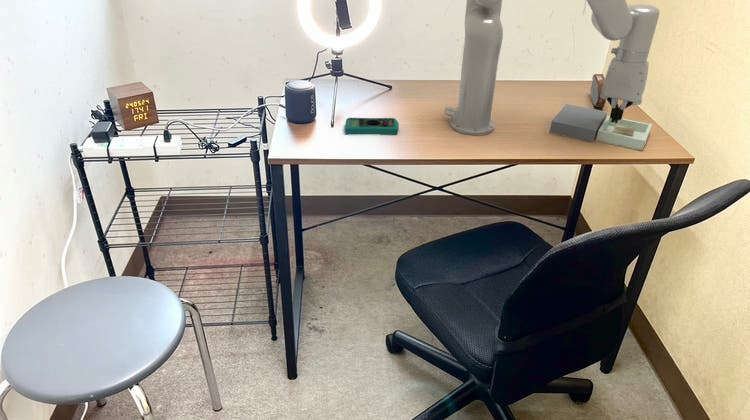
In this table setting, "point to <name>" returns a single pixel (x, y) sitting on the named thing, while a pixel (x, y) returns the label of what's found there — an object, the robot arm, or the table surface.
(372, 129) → the digital multimeter
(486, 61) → the robot arm
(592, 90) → the tin
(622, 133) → the block
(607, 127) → the box
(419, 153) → the table surface
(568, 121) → the plate
